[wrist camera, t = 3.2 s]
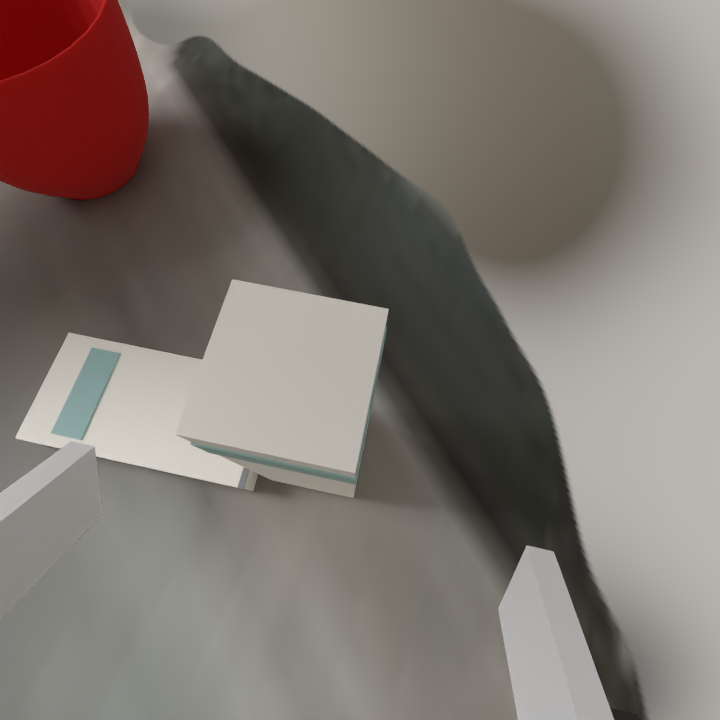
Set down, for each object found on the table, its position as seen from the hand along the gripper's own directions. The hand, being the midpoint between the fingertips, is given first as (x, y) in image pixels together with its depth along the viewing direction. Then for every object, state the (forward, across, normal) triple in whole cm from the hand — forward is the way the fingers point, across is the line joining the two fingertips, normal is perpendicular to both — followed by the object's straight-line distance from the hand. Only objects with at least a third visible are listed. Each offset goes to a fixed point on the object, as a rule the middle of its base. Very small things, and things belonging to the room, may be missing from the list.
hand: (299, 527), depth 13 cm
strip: (+9, -10, -4) cm, 14 cm away
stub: (+10, -1, -4) cm, 10 cm away
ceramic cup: (+22, -22, +9) cm, 33 cm away
